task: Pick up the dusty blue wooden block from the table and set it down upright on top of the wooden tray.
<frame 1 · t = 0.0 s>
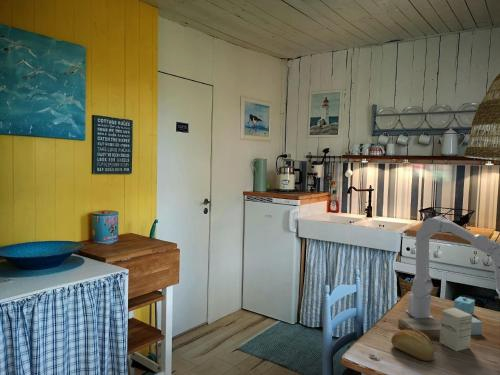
bread roll: (412, 353, 138), on the table
supplement box: (454, 346, 144), on the table
wooden tray: (423, 331, 156), on the table
dusty blue block: (471, 331, 156), on the table
light blue knobbed box: (462, 315, 173), on the table
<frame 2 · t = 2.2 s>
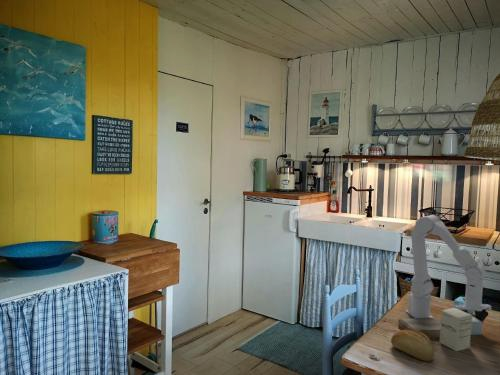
hand: (471, 328, 156), 1 cm above the table, tool pointing down, fingers closed on dusty blue block, 5 cm apart
dusty blue block: (471, 331, 156), on the table, touching gripper
everything else where it was.
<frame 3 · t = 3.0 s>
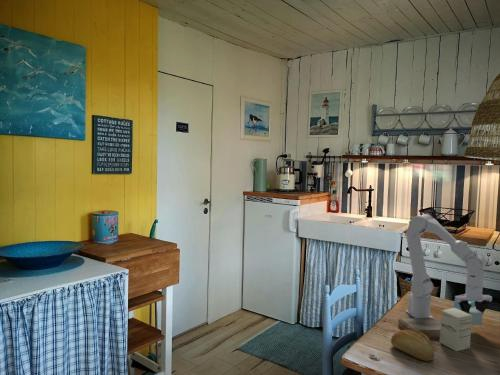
hand: (471, 318, 156), 5 cm above the table, tool pointing down, fingers closed on dusty blue block, 5 cm apart
dusty blue block: (471, 322, 156), point 4 cm above the table, touching gripper
everything else where it was.
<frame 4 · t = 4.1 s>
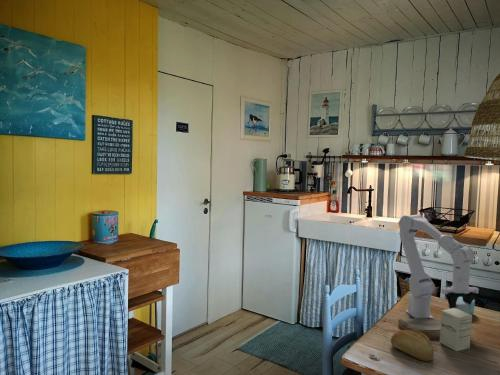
hand: (458, 310, 155), 8 cm above the table, tool pointing down, fingers closed on dusty blue block, 5 cm apart
dusty blue block: (458, 314, 156), point 7 cm above the table, touching gripper
everything else where it was.
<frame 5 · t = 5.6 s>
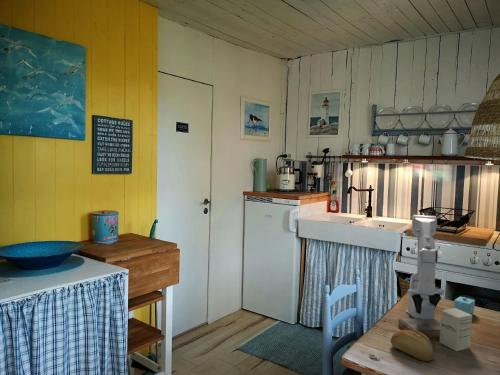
hand: (424, 312, 155), 8 cm above the table, tool pointing down, fingers closed on dusty blue block, 5 cm apart
dusty blue block: (424, 316, 155), point 6 cm above the table, touching gripper
everything else where it was.
when the fingers open (5 cm above the table, at t = 6.5 s): dusty blue block stays where it is, resting on wooden tray.
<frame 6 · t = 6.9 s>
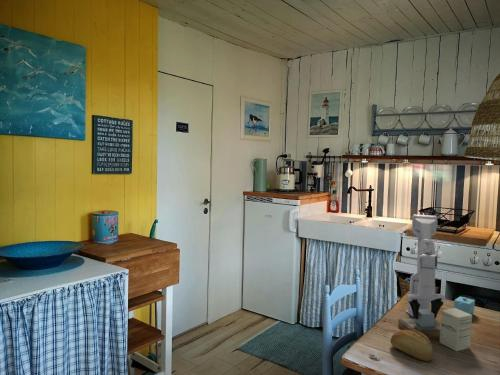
hand: (424, 317, 155), 5 cm above the table, tool pointing down, fingers open, 7 cm apart
dusty blue block: (424, 323, 155), point 3 cm above the table, touching wooden tray
everything else where it was.
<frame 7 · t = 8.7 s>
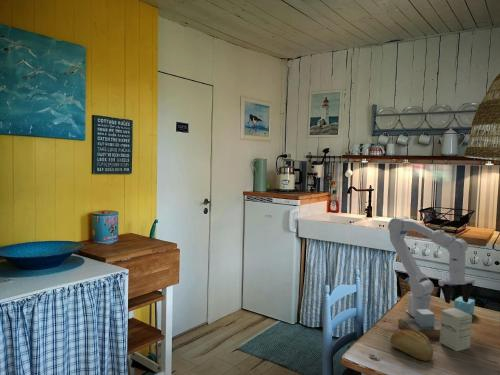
hand: (456, 302, 159), 10 cm above the table, tool pointing down, fingers open, 7 cm apart
nothing on the table moved.
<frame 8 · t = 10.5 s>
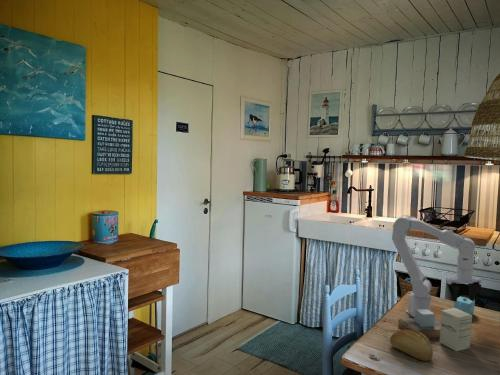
hand: (462, 300, 161), 10 cm above the table, tool pointing down, fingers open, 7 cm apart
nothing on the table moved.
at the end: dusty blue block inside the target area on the wooden tray (0.1 cm from its centre), point 3.0 cm above the wooden tray's base; dusty blue block tilted 0°; the gripper is holding nothing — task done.
